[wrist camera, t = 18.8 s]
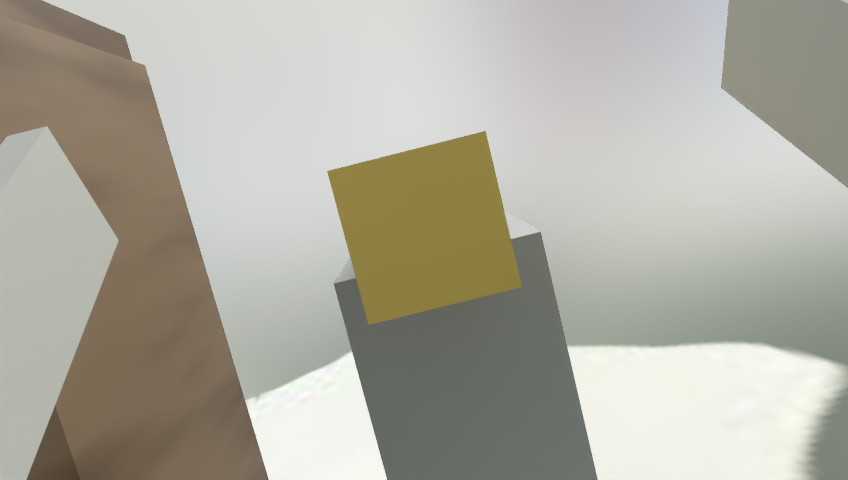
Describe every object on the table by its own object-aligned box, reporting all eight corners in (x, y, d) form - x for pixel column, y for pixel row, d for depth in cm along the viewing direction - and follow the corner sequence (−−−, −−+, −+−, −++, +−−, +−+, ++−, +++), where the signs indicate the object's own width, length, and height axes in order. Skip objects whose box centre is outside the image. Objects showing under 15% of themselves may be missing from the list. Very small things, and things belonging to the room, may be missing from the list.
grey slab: (453, 722, 27) (333, 283, 24) (439, 512, 43) (365, 234, 40) (642, 677, 27) (540, 231, 24) (557, 483, 42) (491, 202, 40)
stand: (-118, 1141, 18) (-617, 6, 14) (146, 653, 36) (-42, 91, 32) (297, 1045, 18) (-94, -133, 14) (356, 602, 36) (191, 30, 32)
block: (368, 324, 16) (327, 171, 16) (398, 223, 42) (383, 163, 42) (521, 286, 16) (485, 130, 16) (458, 208, 42) (443, 147, 42)
